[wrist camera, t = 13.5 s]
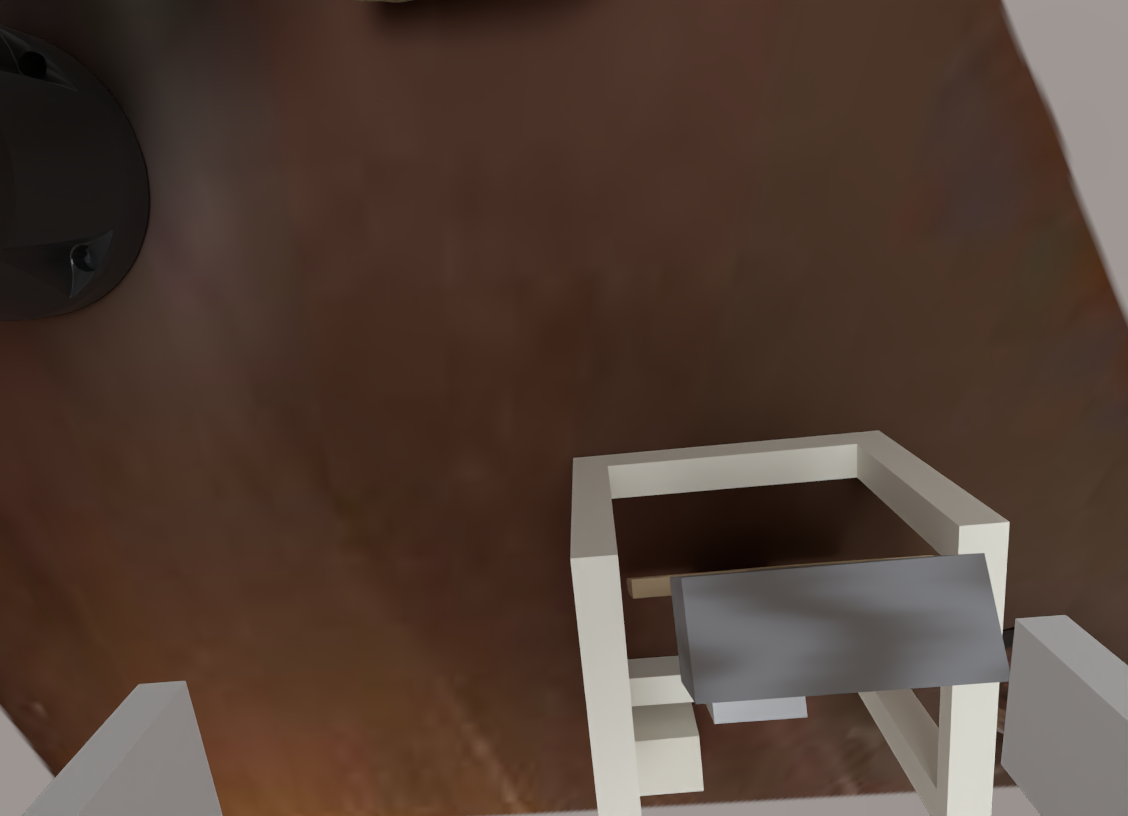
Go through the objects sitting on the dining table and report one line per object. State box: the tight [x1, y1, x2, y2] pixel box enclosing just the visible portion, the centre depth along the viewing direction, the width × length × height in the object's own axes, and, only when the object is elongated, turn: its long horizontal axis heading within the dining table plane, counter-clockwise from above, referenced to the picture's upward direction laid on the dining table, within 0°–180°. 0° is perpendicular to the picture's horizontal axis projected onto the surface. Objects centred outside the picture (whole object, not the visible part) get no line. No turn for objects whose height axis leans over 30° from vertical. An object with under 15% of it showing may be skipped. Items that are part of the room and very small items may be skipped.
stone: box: [706, 696, 807, 724], centre depth 41 cm, size 5×5×7 cm
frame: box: [570, 430, 1009, 816], centre depth 37 cm, size 18×16×13 cm
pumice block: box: [632, 702, 704, 796], centre depth 45 cm, size 4×4×4 cm
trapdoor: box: [627, 553, 1010, 704], centre depth 32 cm, size 13×18×4 cm
